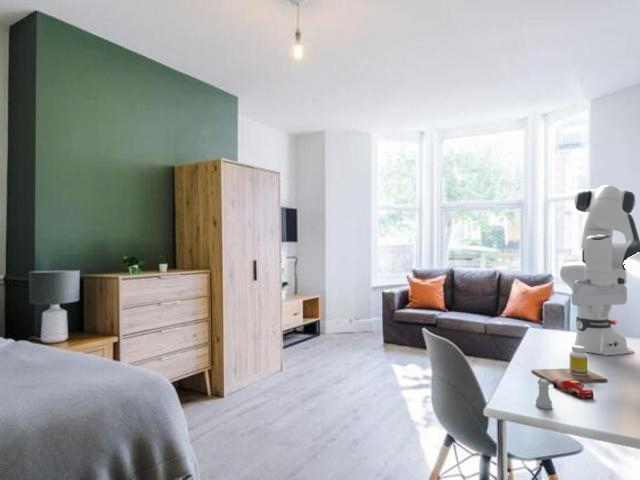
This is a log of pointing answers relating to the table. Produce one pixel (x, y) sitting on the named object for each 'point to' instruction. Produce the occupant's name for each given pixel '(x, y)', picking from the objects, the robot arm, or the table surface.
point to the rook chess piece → (543, 395)
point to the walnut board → (567, 375)
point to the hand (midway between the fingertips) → (599, 317)
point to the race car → (574, 388)
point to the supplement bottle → (578, 361)
